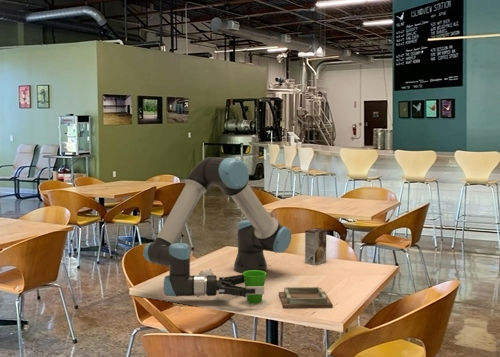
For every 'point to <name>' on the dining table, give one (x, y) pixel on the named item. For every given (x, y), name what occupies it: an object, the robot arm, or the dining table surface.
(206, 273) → the elephant figurine
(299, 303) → the jig cradle
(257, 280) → the cup
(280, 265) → the dining table surface
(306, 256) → the coffee box
